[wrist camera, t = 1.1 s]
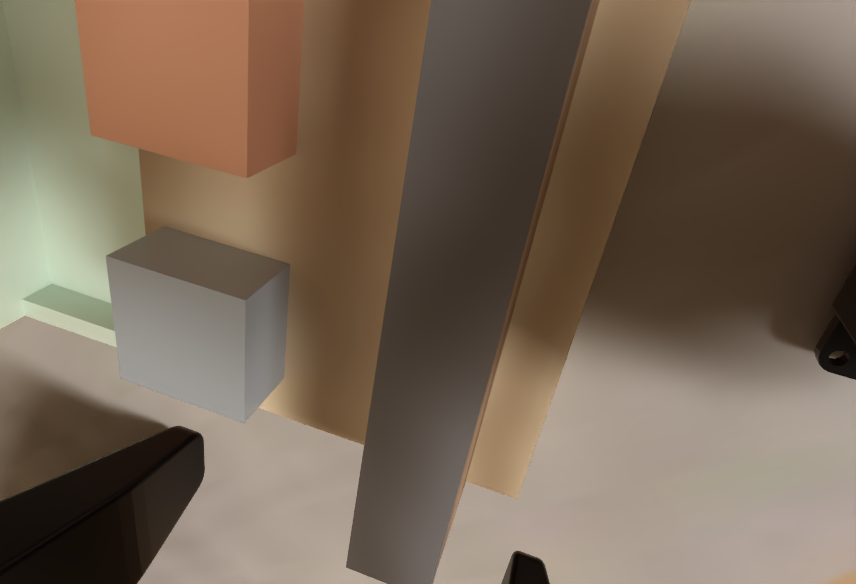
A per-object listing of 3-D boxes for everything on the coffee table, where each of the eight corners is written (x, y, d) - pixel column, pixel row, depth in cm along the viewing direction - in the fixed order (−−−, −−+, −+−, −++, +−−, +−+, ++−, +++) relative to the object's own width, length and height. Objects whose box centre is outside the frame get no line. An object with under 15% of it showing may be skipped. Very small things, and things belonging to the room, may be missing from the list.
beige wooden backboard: (692, -38, 14) (706, -44, 12) (529, 440, 22) (517, 499, 20) (192, -127, 17) (114, -148, 14) (205, 332, 25) (156, 371, 22)
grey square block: (290, 264, 18) (245, 300, 16) (283, 378, 20) (244, 423, 18) (164, 226, 19) (105, 255, 17) (171, 339, 21) (120, 379, 19)
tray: (191, -148, 17) (79, -184, 13) (205, 342, 25) (139, 397, 22) (-37, -187, 18) (-192, -229, 15) (49, 289, 26) (-37, 333, 23)
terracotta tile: (305, -27, 14) (249, -30, 12) (295, 153, 16) (246, 178, 14) (145, -60, 15) (66, -68, 13) (157, 117, 17) (90, 134, 15)
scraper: (618, -61, 12) (613, -85, 8) (466, 481, 20) (427, 599, 16) (503, -81, 13) (447, -113, 9) (399, 457, 20) (345, 567, 17)
